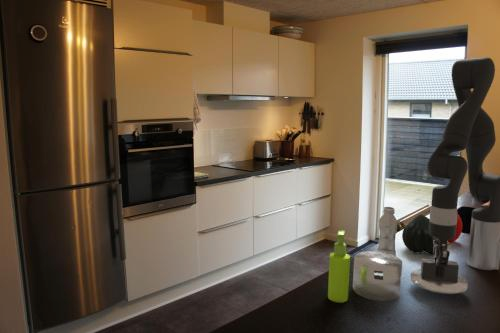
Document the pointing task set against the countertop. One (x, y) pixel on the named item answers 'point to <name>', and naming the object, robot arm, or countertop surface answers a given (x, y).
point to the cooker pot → (377, 275)
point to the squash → (418, 235)
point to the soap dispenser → (339, 271)
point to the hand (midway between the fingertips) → (438, 274)
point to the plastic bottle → (387, 231)
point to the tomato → (457, 229)
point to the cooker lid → (439, 285)
